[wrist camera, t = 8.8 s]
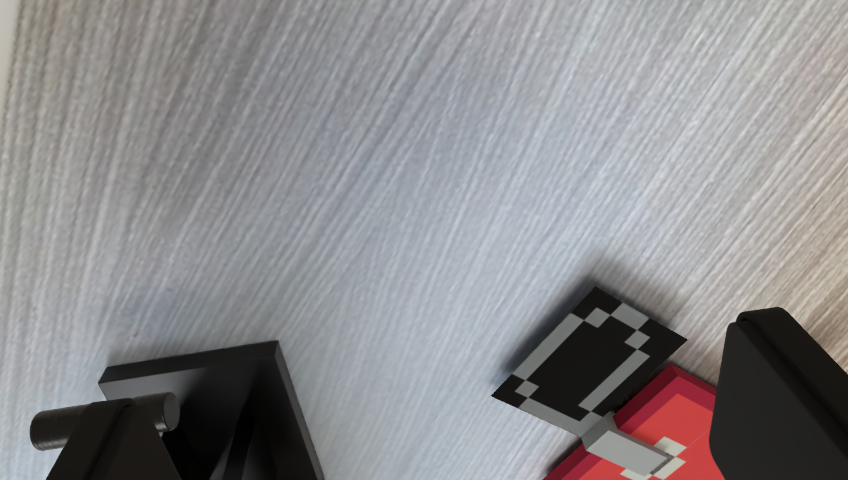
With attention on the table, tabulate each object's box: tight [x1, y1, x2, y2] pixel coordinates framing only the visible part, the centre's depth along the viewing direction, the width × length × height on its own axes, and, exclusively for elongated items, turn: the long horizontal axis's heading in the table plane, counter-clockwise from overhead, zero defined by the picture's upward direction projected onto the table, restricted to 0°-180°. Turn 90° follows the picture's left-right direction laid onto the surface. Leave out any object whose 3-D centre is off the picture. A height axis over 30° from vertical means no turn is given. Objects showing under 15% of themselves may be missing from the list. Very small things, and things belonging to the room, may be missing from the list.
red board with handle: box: [491, 287, 725, 480], centre depth 37 cm, size 30×3×15 cm
